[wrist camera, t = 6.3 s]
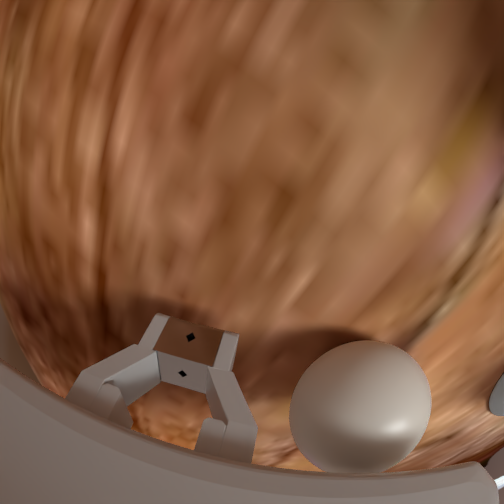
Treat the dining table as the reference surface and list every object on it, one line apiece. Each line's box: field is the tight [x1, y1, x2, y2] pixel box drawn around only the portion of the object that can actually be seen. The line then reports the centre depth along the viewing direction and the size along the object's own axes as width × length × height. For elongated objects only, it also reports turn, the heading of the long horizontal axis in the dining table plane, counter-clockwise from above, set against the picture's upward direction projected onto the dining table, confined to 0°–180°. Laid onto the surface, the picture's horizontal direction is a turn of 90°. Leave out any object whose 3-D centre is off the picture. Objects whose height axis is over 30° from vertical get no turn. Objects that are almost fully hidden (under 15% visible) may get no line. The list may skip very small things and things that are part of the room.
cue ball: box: [289, 340, 431, 473], centre depth 10 cm, size 6×6×6 cm
